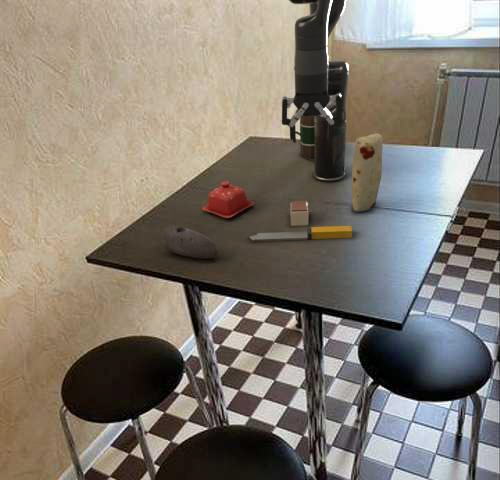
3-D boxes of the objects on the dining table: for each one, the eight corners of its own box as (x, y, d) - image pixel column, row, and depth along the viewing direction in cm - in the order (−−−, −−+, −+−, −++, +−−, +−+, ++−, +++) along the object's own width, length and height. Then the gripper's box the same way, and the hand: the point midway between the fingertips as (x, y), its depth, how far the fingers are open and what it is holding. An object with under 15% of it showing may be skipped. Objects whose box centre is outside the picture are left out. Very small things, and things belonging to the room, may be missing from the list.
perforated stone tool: (224, 256, 120) (221, 231, 116) (212, 267, 117) (208, 242, 113) (176, 244, 127) (171, 220, 123) (163, 254, 124) (158, 230, 119)
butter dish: (200, 212, 141) (196, 184, 136) (228, 197, 148) (225, 170, 143) (228, 222, 134) (225, 194, 129) (256, 207, 141) (254, 179, 136)
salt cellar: (291, 225, 130) (290, 210, 127) (291, 216, 135) (290, 201, 132) (308, 225, 130) (308, 209, 127) (307, 215, 134) (307, 200, 132)
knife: (249, 242, 125) (248, 235, 124) (250, 235, 128) (249, 228, 127) (352, 238, 122) (352, 231, 121) (350, 232, 125) (351, 225, 124)
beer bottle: (299, 159, 168) (297, 85, 154) (301, 150, 174) (300, 79, 160) (322, 158, 166) (322, 84, 152) (323, 150, 173) (324, 77, 158)
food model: (365, 217, 131) (369, 143, 119) (344, 211, 134) (346, 138, 123) (384, 203, 136) (390, 131, 124) (363, 198, 140) (367, 127, 128)
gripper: (341, 63, 113) (340, 133, 123) (280, 67, 114) (283, 136, 124) (344, 71, 107) (342, 144, 117) (279, 75, 109) (282, 147, 118)
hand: (311, 140), depth 120 cm, fingers open, 8 cm apart
